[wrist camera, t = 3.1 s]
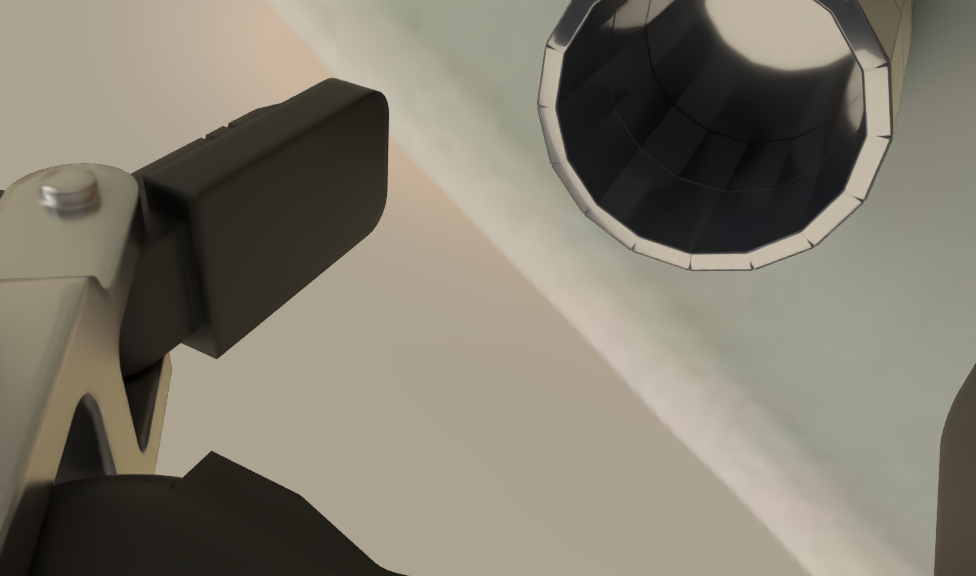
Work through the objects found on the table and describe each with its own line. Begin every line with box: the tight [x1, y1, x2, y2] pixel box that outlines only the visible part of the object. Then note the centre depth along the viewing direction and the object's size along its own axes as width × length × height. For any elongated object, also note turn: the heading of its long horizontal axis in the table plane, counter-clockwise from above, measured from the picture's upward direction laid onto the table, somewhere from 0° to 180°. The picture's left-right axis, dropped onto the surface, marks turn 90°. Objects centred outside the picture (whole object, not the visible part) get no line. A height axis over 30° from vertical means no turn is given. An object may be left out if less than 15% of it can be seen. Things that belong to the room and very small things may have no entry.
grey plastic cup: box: [537, 0, 912, 271], centre depth 16 cm, size 6×6×6 cm
